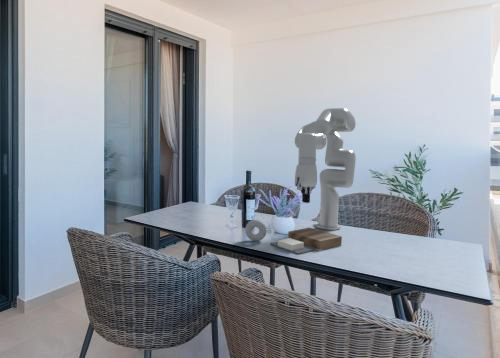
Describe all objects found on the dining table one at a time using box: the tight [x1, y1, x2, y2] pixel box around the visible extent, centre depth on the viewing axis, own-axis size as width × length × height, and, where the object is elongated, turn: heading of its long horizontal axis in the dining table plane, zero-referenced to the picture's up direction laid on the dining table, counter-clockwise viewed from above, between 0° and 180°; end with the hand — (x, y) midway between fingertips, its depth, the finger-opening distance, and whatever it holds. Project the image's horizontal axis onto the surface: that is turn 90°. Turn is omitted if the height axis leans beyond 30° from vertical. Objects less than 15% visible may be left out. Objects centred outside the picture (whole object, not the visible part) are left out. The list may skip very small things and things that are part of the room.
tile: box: [277, 237, 304, 251], centre depth 164 cm, size 9×7×2 cm
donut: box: [244, 219, 267, 242], centre depth 174 cm, size 10×4×10 cm, turn 80°
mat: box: [269, 241, 318, 255], centre depth 165 cm, size 18×11×1 cm, turn 37°
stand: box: [287, 227, 343, 251], centre depth 173 cm, size 20×14×4 cm
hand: (305, 202), depth 169 cm, fingers closed
